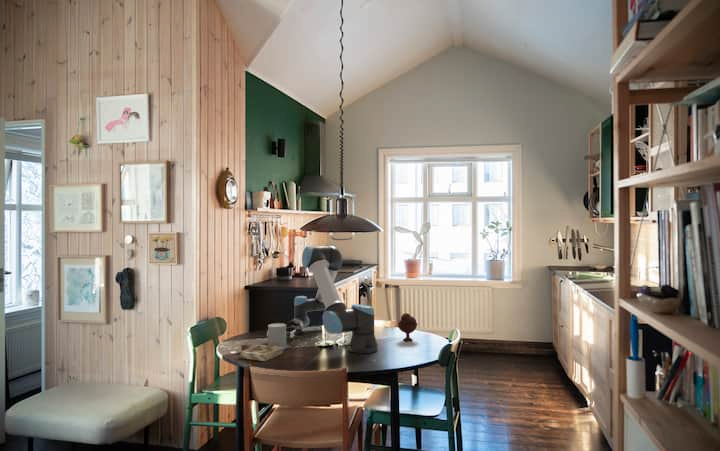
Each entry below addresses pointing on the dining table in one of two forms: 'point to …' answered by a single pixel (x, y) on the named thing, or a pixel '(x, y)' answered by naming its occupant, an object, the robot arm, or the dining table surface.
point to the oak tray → (261, 352)
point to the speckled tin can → (277, 335)
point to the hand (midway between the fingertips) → (279, 334)
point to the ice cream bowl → (407, 325)
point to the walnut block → (245, 346)
